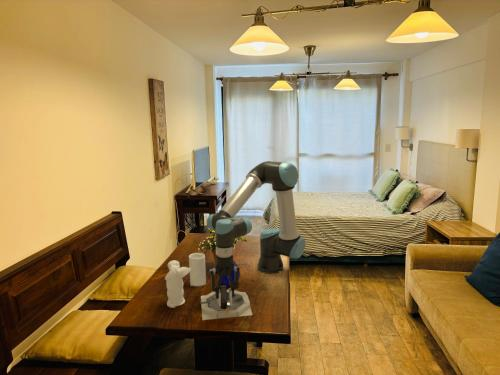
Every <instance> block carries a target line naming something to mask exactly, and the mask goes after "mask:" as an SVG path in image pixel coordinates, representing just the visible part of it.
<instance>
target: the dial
mask: <svg viewBox="0 0 500 375" xmlns="http://www.w3.org/2000/svg"><path fill="white" fill-rule="evenodd" d="M227 287H228V286H225V285H223V284H222V285H220V292H221V306H219V305H218V299H216V295H214V296H212V297H211V298H210V299H209V300H208V307H209V308H212V309H214V310H217V311H226V309H228V310H235V309H237V308H238V307H240V306H241V305H243V303H242V298H241V297H240V296H239V295H237V294H234V297H232V305H230V303H229V293H227V290H228V288H227Z"/></svg>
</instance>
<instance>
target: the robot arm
mask: <svg viewBox="0 0 500 375" xmlns="http://www.w3.org/2000/svg"><path fill="white" fill-rule="evenodd" d="M298 179H299V171H298V169H297V167H296V165H294V164H293V163H290V162H286V161H283V162H282V161H269V160H267V161H263V162H261V163H259V164H257V165H256V166H254V167H253V168H252V169H251V170H250V171H249V172H248V173H247V174H246V176H245V179H244V181H243V182H242V183H241V184H240V185H239V187H238V188H237V189H236V190H235V192H234V193H232V195H231V196H230V197H229V198H228V200H227V201H226V202H225V203H224V205H223V206H222V207H221V208H220V209H219V210H218V212H217V213H211V214H209V215H208V216H207V218H206V227H207V228H208V229H210V230H212V231H215V267H213V268H210V269H209V273H210V287H211V288H210V289H211V292H216V299H218V305H219V306H221V292H220V286H222V285H221V284H222V283H221V280H222V278H223V276H224V275H227V276H228V280H229V284H230V286H229V287H230V288H228V290H229V303H230V305H232V297H234V291H235V290H237V289H239V280H238V273H239V271H241V269H240V267H239V265H237V266H234V265H233V260H234V240H236V239H237V238H240V237H245V236H246V235H247V234H250V233H251V231H252V230H253V225H252V221H251V220H250V219H249V218H247V217H244V218H242V217H241V218H235V216H236V215H237V214H238V213H239V212H240V211H241V209H242V208H243V207H244V205H245V204H246V203H247V202H248V200H250V198H251V197H252V196H253V194H254V193H255V192H256V191H257V189H260V188H261V187H262V186H263V185H265V184H269V185H271V189H272V191H274V192H275V196H276V204H277V212H278V219H279V220H278V221H279V227H280V229H279V228H266V229H263V230H262V231H261V232H260V235H259V236H260V237H259V244H260V246H259V247H260V248H259V249H260V251H259V252H260V253H259V254H260V255H259V258H258V262H257V270H258V271H259V272H260V273H264V274H278V273H280V272H283V270H284V268H285V266H284V262H283V258H282V257H281V256H284V257H287V258H289V259H299V258H300V257H302V255H303V253H304V251H305V248H306V240H305V239H304V237H301V233H300V231H299V230H297V229H298V228H297V221H296V220H297V219H296V213H295V210H296V209H295V204H294V202H295V201H294V194H293V190H294V189H295V188H296V185H297V183H298ZM233 269H234V271H235V272H234V285H233V282H232V278H231V272H232V270H233ZM216 272H217V280H216V279H215V278H216V276H215V274H216ZM215 280H216V282H215Z"/></svg>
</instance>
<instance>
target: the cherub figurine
mask: <svg viewBox="0 0 500 375" xmlns="http://www.w3.org/2000/svg"><path fill="white" fill-rule="evenodd" d="M167 267H168V270H169V271H168V272H167V274H166V275H165V277H164V280H165V281H166V282H165V283H166V289H167V291H166V296H167V298H168V300H167V302H166V305H167V307H168V308H176V307H178V306H181V305H183V304H185V302H186V299H185V298H184V296H185V294H184V293H185V290H184V281H183V278H185V277H186V276H187V275H188V274H190V271H191V268H190V267H188V266H187V267H186V266H182V267H181V266H180V262H179V261H178V260H175V259H174V260H170V261H169V262H168V263H167Z"/></svg>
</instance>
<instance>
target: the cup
mask: <svg viewBox="0 0 500 375" xmlns="http://www.w3.org/2000/svg"><path fill="white" fill-rule="evenodd" d="M188 262H189V263H188V264H189V267H188V268H191V271H190V272H189V282H190V285H189V286H190V287H202V286H204V285H207V276H206V275H207V274H206V256H205V253H203V252H193V253H191V254H189V255H188Z"/></svg>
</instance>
